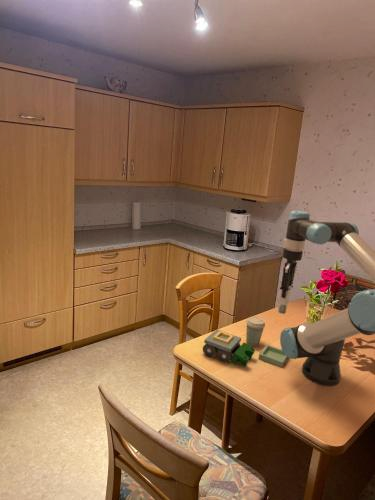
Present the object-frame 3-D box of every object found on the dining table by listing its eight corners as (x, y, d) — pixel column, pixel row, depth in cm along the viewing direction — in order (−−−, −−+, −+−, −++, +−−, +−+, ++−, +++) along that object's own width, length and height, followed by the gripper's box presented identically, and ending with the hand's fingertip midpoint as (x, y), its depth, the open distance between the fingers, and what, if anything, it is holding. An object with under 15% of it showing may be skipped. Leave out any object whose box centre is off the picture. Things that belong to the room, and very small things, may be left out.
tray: (288, 357, 165) (289, 352, 165) (282, 367, 157) (283, 362, 156) (265, 349, 170) (266, 344, 169) (258, 359, 161) (259, 354, 161)
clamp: (240, 375, 156) (245, 364, 150) (228, 367, 158) (232, 355, 152) (253, 355, 164) (258, 343, 157) (242, 348, 166) (246, 336, 160)
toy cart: (239, 353, 164) (242, 335, 162) (229, 365, 154) (232, 347, 152) (213, 343, 170) (215, 326, 168) (201, 354, 160) (203, 336, 158)
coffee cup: (253, 350, 168) (257, 326, 165) (239, 342, 174) (243, 318, 171) (265, 345, 174) (269, 322, 170) (251, 337, 180) (254, 314, 176)
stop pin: (288, 311, 158) (293, 285, 155) (285, 315, 155) (290, 288, 151) (278, 309, 160) (283, 282, 157) (275, 312, 156) (280, 285, 153)
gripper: (289, 243, 159) (280, 294, 165) (278, 251, 145) (269, 306, 151) (306, 247, 155) (297, 299, 161) (298, 255, 141) (287, 311, 148)
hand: (283, 302), depth 156 cm, fingers closed on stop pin, 3 cm apart
